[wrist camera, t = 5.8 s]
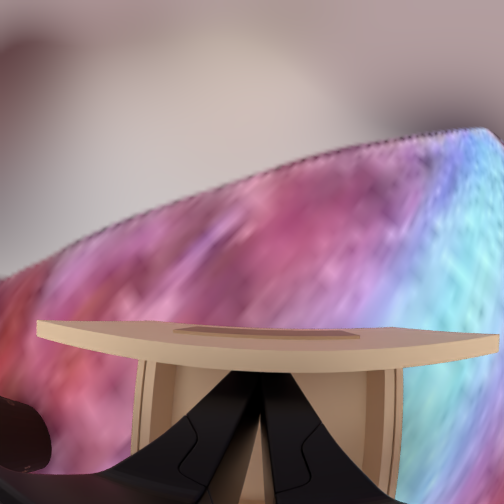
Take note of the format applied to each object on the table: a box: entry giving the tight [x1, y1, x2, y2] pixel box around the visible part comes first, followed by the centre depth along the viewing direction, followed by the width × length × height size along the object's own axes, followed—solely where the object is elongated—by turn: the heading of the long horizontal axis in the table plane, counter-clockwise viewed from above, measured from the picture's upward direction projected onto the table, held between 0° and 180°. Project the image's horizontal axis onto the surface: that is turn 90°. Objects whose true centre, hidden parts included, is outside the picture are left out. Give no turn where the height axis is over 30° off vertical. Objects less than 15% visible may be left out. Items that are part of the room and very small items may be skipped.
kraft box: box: [131, 359, 403, 504], centre depth 15 cm, size 12×15×4 cm
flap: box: [37, 320, 500, 373], centre depth 11 cm, size 1×13×9 cm, turn 87°
